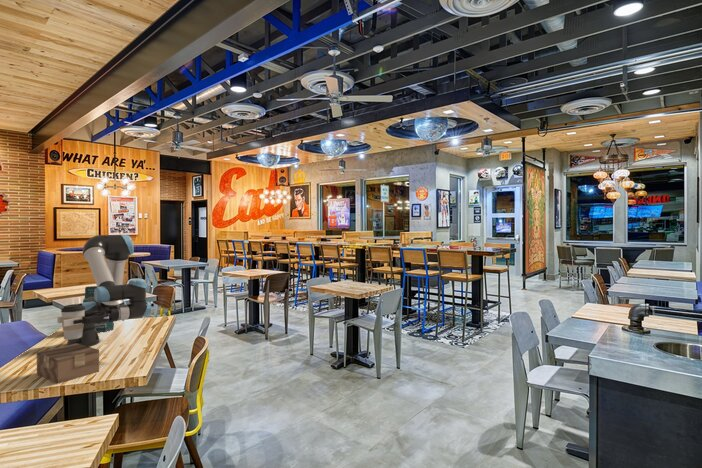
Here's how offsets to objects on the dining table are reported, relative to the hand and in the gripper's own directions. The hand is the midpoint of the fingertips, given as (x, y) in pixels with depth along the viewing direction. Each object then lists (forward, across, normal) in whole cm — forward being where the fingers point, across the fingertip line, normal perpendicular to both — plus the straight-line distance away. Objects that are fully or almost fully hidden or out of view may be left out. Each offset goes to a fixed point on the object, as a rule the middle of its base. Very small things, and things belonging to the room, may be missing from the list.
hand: (60, 321), depth 168 cm
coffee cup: (-5, 0, -8) cm, 9 cm away
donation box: (-39, +76, -24) cm, 88 cm away
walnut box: (-3, 0, -24) cm, 24 cm away
